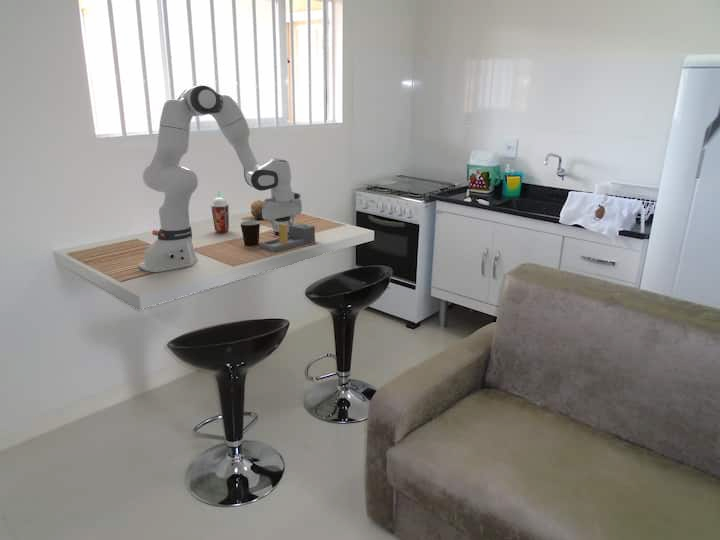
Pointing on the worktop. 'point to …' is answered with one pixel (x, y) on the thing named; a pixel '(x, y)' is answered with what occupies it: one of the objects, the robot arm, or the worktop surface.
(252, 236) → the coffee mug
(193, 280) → the worktop surface
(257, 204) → the natural sponge
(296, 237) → the dispenser
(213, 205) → the smoothie
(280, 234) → the ticket
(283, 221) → the spread jar
